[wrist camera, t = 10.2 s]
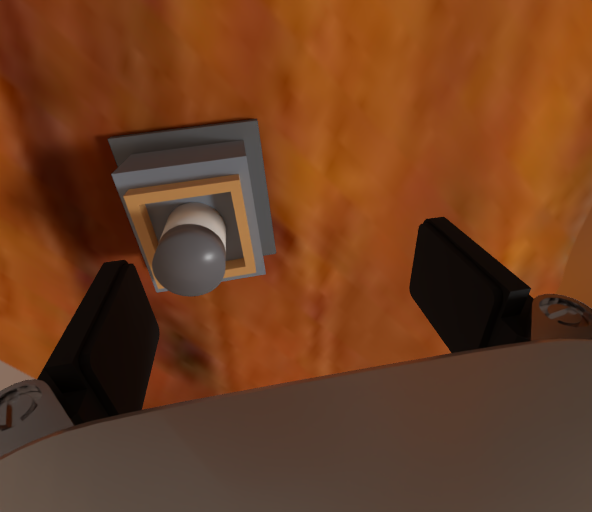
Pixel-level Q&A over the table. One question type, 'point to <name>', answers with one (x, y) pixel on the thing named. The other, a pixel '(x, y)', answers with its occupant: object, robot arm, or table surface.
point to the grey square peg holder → (198, 187)
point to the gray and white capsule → (191, 250)
